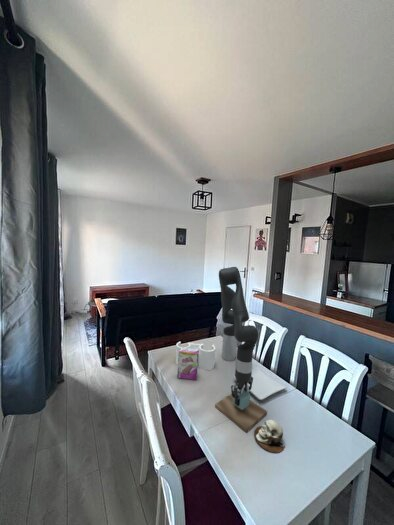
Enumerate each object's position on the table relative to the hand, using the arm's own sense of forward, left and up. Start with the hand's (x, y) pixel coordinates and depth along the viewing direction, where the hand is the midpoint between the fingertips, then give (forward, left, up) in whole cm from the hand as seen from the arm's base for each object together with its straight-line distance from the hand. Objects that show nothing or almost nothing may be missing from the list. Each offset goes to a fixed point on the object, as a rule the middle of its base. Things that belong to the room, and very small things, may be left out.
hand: (241, 401), depth 104 cm
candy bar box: (+4, -35, -5) cm, 36 cm away
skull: (+3, +17, -5) cm, 18 cm away
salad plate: (-23, -5, -5) cm, 24 cm away
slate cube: (0, 0, -1) cm, 1 cm away
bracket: (-8, -43, -5) cm, 44 cm away
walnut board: (0, 0, -4) cm, 4 cm away
